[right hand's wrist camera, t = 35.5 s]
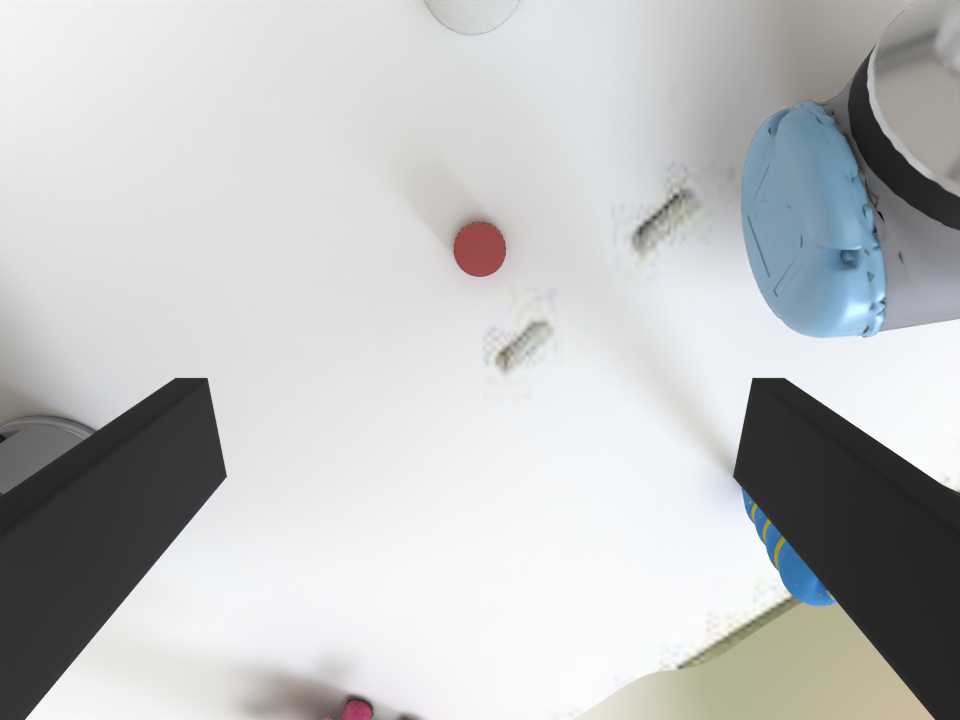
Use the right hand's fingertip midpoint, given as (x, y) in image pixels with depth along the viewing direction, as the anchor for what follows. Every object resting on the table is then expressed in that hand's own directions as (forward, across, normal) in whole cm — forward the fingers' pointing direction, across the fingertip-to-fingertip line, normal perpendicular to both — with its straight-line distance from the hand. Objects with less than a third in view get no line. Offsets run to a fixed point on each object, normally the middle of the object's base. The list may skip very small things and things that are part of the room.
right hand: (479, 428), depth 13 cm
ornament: (+32, -26, +23) cm, 47 cm away
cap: (+30, 0, 0) cm, 30 cm away
